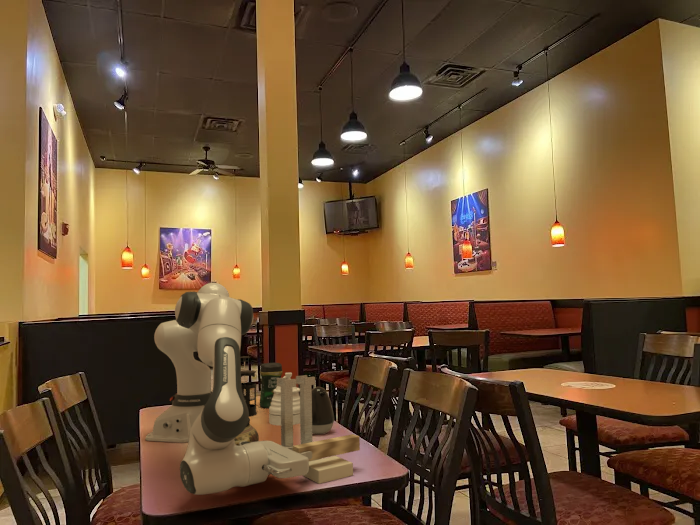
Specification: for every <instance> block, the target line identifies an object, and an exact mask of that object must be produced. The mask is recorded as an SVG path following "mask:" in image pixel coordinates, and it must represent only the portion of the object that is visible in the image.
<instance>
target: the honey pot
mask: <svg viewBox="0 0 700 525" xmlns="http://www.w3.org/2000/svg"><path fill="white" fill-rule="evenodd" d="M284 374H285V375H284V376H283V377H282V378H285V377H288V378H289V379H292V378H291V377H292V376H293V373H292V372H285V373H284ZM292 389H293V426H294V425H300V387H297V386H296V387H292ZM273 392H274V396H273V398H272V402H271V406H270V407H269V408H268V413H269V414H268V423H269V425H271V426H272V425H273V426H280V427H281V387H279V386H277V387H276V389H274V390H273Z"/></svg>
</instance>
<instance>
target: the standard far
mask: <svg viewBox="0 0 700 525" xmlns="http://www.w3.org/2000/svg"><path fill="white" fill-rule="evenodd" d="M295 379H296V385H299V388H300V391H299V396H300V424H299V425H300V426H299V428H300V430H299V431H300V444H305V443H310V442H313V434H312V386H313V385H314V386H315V385H316V376H309V377H308V375H307V374H305V375H295ZM321 459H323V458H321ZM317 460H319V459H317ZM312 461H314V460H312ZM309 462H310V461H309Z"/></svg>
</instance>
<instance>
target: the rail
mask: <svg viewBox="0 0 700 525" xmlns="http://www.w3.org/2000/svg"><path fill="white" fill-rule="evenodd" d="M360 440H361V439H360V435H356V434H354V433H353V434H347V435H343V436H336V437H332V438H331V437H330V438H327V439H321V440H317V441H316V440H315V441H312V442H310V443H305V444H301V443H300V444H295V445H294V444H293V451H295V452H297V453H303V451H307V450H308V451H311V452H312V459H309V461H312V460H317V459H321V458H322V459H323V458H328V457H332V456H340V455H344V454H349V453H353V452H358V451H360V450H361V448H360V447H361V446H360V445H361V444H360V443H361V442H360Z"/></svg>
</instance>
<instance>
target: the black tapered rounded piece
mask: <svg viewBox="0 0 700 525" xmlns="http://www.w3.org/2000/svg"><path fill="white" fill-rule="evenodd" d="M311 390H312V435H325V434H328V432H330V431H331V430H332V428H333V425H334V422H335V415H334V410H333V406H332V402H331V398H330V396H329V394H328V392H327V391H326V389H325V388H324V387H321V386H316V387H315V386H314V388H311Z"/></svg>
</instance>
